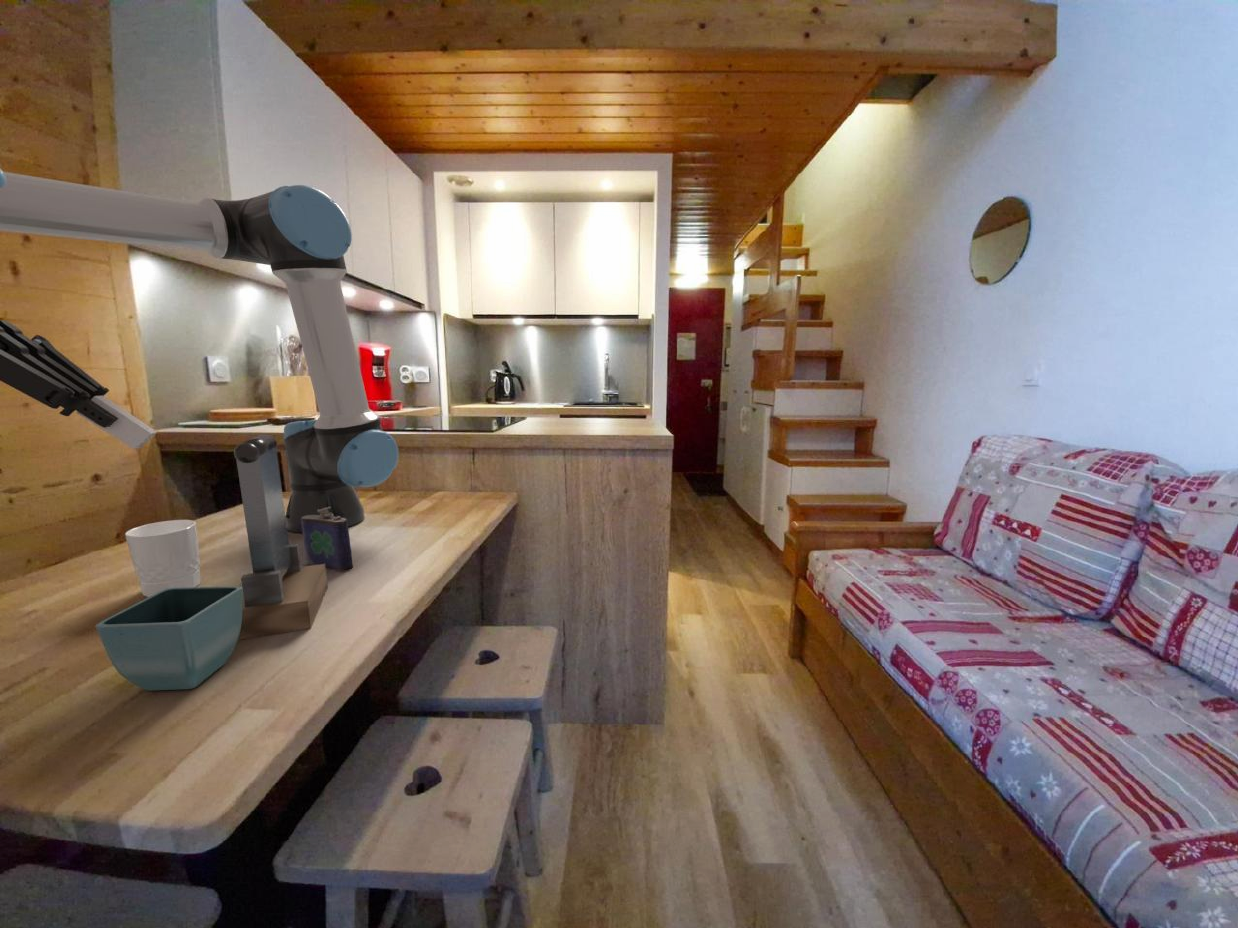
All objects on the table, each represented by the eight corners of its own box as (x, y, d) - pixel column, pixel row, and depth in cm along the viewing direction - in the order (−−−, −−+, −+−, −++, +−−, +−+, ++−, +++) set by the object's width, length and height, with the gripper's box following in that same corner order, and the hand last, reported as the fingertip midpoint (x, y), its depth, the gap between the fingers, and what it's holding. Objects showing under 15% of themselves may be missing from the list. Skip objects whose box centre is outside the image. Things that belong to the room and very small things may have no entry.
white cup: (165, 602, 71) (152, 538, 69) (123, 597, 73) (110, 534, 71) (218, 580, 79) (208, 521, 77) (179, 575, 80) (169, 518, 78)
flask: (302, 566, 84) (295, 507, 82) (317, 560, 87) (310, 503, 85) (345, 572, 82) (339, 512, 80) (358, 566, 85) (353, 507, 83)
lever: (252, 602, 63) (229, 444, 58) (272, 574, 71) (253, 434, 67) (276, 599, 64) (254, 443, 59) (293, 571, 72) (275, 433, 68)
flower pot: (179, 655, 58) (166, 586, 57) (255, 652, 59) (244, 584, 57) (109, 704, 50) (91, 625, 48) (198, 701, 50) (184, 623, 49)
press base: (219, 643, 61) (209, 584, 59) (251, 597, 73) (244, 547, 71) (311, 628, 65) (304, 572, 63) (327, 587, 76) (322, 539, 75)
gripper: (-60, 319, 56) (149, 454, 65) (-191, 306, 44) (88, 473, 53) (-7, 275, 57) (192, 414, 66) (-120, 251, 45) (142, 424, 54)
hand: (145, 440), depth 60 cm, fingers closed
